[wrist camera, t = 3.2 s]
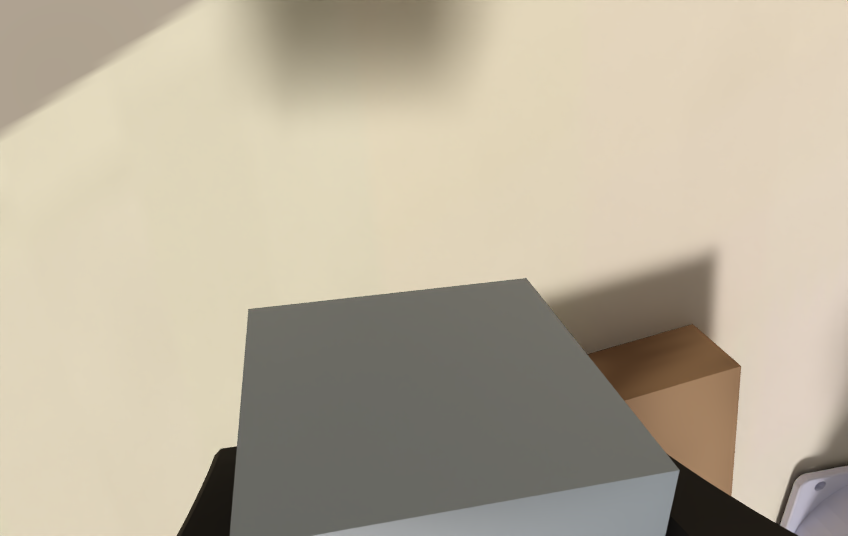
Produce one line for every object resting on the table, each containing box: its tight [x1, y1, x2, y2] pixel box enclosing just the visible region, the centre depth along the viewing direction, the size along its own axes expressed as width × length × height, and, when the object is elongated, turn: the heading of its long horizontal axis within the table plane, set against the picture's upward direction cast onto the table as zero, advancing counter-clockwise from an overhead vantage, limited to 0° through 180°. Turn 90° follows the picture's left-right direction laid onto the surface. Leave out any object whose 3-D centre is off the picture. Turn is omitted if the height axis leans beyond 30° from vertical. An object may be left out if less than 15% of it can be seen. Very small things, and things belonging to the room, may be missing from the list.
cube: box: [230, 278, 680, 536], centre depth 10 cm, size 5×5×5 cm
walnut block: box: [587, 324, 741, 496], centre depth 23 cm, size 9×9×3 cm
